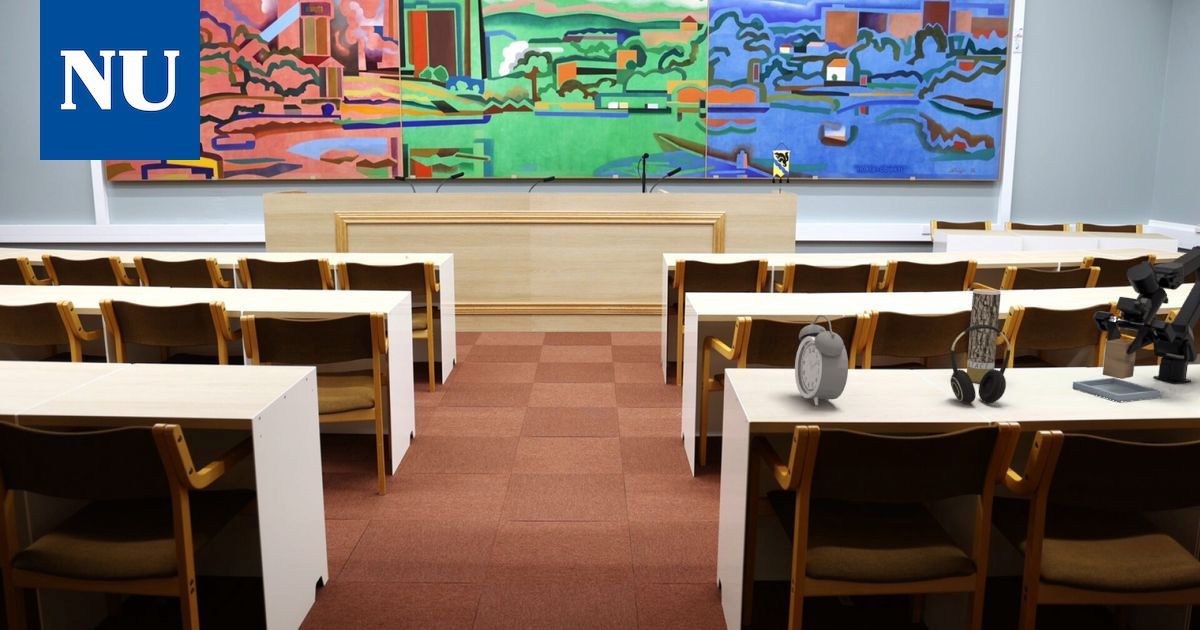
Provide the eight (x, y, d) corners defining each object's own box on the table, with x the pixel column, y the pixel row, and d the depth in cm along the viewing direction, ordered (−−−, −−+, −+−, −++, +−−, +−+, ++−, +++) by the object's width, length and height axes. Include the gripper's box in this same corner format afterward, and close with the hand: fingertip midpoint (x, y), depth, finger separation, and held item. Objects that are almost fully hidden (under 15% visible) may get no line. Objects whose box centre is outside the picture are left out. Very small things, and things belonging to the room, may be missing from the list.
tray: (1112, 384, 236) (1113, 377, 236) (1160, 397, 223) (1160, 390, 223) (1072, 388, 232) (1073, 381, 231) (1118, 402, 219) (1119, 395, 218)
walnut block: (1113, 372, 230) (1117, 339, 228) (1133, 376, 225) (1136, 342, 224) (1102, 374, 227) (1106, 341, 226) (1121, 379, 223) (1125, 344, 221)
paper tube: (972, 376, 244) (980, 288, 239) (997, 381, 239) (1005, 291, 234) (961, 380, 239) (968, 290, 235) (986, 385, 234) (994, 293, 230)
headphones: (940, 398, 222) (945, 321, 219) (997, 397, 223) (1004, 321, 219) (954, 407, 214) (960, 327, 210) (1013, 407, 214) (1021, 327, 210)
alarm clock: (790, 393, 226) (794, 310, 222) (822, 392, 228) (826, 309, 224) (815, 411, 210) (820, 322, 206) (849, 410, 212) (854, 321, 208)
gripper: (1100, 281, 232) (1071, 325, 229) (1174, 290, 216) (1144, 338, 213) (1114, 307, 237) (1086, 351, 234) (1188, 318, 221) (1158, 366, 218)
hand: (1117, 351), depth 225 cm, fingers closed on walnut block, 5 cm apart
